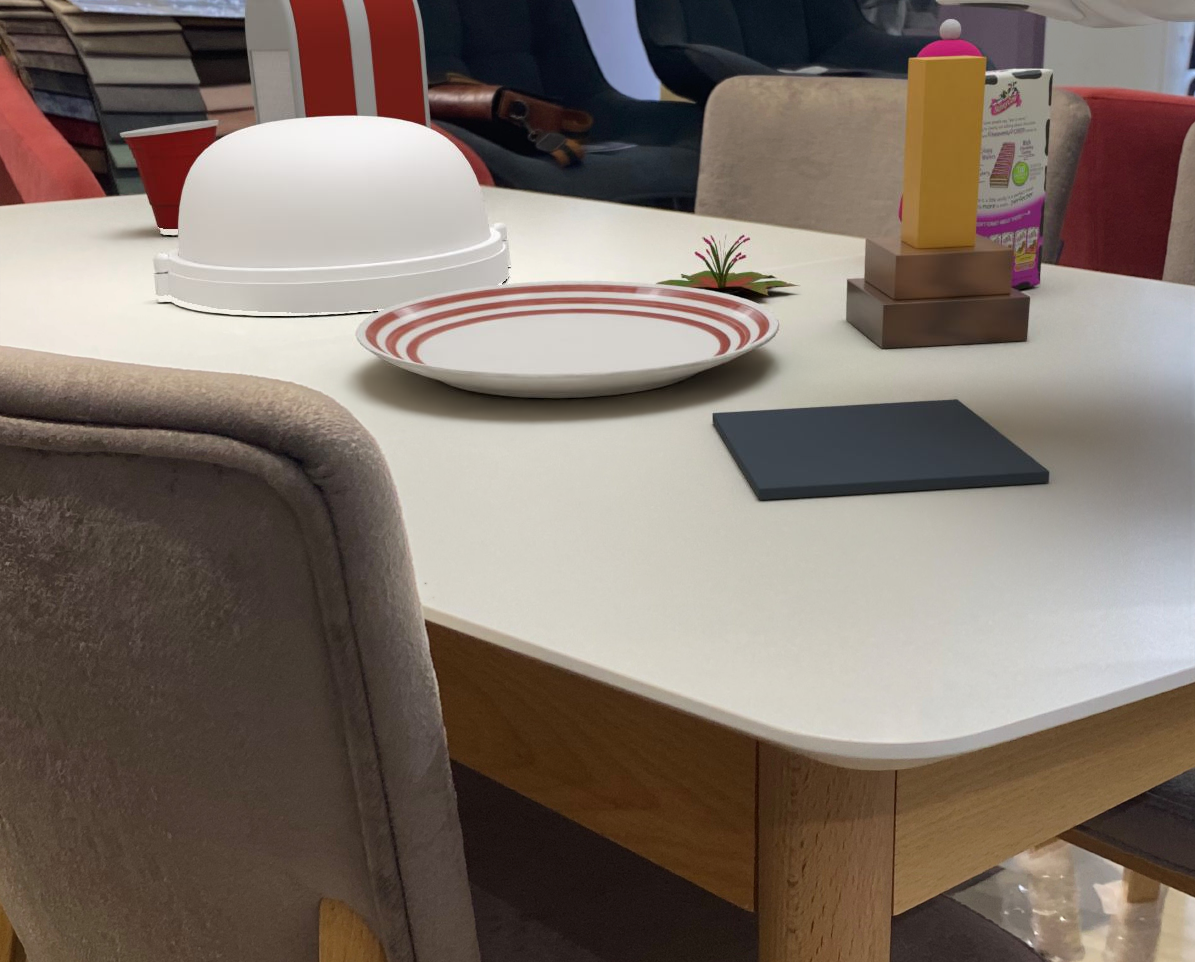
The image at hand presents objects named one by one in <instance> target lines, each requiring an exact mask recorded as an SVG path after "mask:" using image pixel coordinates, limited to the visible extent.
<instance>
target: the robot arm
mask: <svg viewBox="0 0 1195 962" xmlns="http://www.w3.org/2000/svg"><path fill="white" fill-rule="evenodd" d="M935 2H936V3H937V4H939V5H942V6H959V7H960V8H986V9H987V8H988V9H989V8H990V9H1000V10H1001V9H1002V10H1007V11H1008V10H1009V11H1025V12H1029V13H1032V14H1036V15H1039V16H1041V17H1046V18H1049V19H1053V20H1057V21H1060V22H1061V21H1062V22H1071V23H1073V24H1075V25H1079V26H1081V27H1086V28H1092V29H1115V28H1117V29H1118V28H1128V27H1140V26H1141V27H1143V26H1151V25H1158V24H1159V25H1160V24H1163V23H1166V22H1173V23H1193V22H1194V23H1195V0H935Z"/></svg>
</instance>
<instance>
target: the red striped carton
mask: <svg viewBox="0 0 1195 962" xmlns="http://www.w3.org/2000/svg"><path fill="white" fill-rule="evenodd" d="M244 29H245V30H244V31H245V42H246V51H247V52H246V53H247V58H248V59H247V60H248V66H249V68H248V69H249V77H250V84H251V93H252V101H253V108H254V109H253V110H254V118H255V125H259V124H263V123H268V122H274V121H280V120H287V119H297V118H309V117H324V116H373V117H385V118H393V119H400V120H404V121H409V122H413V123H416V124H419V125H423V126H425V127H427V128H430V129H432V126H431V125H432V124H431V113H430V99H429V85H428V75H427V72H428V71H427V60H426V47H425V35H424V27H423V19H422V15H421V10H420V6H419V3H418V0H245V7H244Z"/></svg>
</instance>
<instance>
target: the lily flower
mask: <svg viewBox="0 0 1195 962" xmlns="http://www.w3.org/2000/svg"><path fill="white" fill-rule="evenodd" d="M709 237H710V239H711V240H709V239H707V238H706V237H705V236H702V237H701V239H702V240H703V242H704V243H706V244H708V245H709V248H710V251H709V250H708V248H705V252H706V253H707V255H708V256H709V257H710V259H711V261H712V265H713V266H712V265H711V264H710V262H709V260H707V259H706V257H705V256H704V255H703V254H701V253H700V252H698V251H695V252H694V255H695V256H696V257H698V258H699V259H700V260H702V261H703V262H704V263H705V265H706V267H707V268H708V269H709V270H703V271H700V272H696V273H692V274H690V275H688V274H683V273H681V274H680V279H668V280H662V281H657V282H656V283H655V284H662V285H672V286H681V287H690V288H697V289H704V290H710V291H715V292H720V293H725V294H734V293H739V292H743V291H744V292H745V291H753V292H756V293H758V294H763V295H766V296H768V297H769V296H770V295H769V294H768V289H775V288H787V287H800V285H798V284H794V283H790V282H789V283H788V282H787V281H783V280H769V279H777V277H776V276H774V275H772V274H768V275H767V274H762V273H760V272H756V271H745V272H744V271H743V272H738V273H737V272H730V271H731V269H732V268H733V266H734V265H735V263H737V261H740V260H741V261H742V260H744V259H745V258H747V254H742V251H740V252H738V253H737V254H736V255H735V256H734V257H733V258H732V259H731V260H730V261H729V259H730V257H731V256H732V255H733V253H735V251H736V250H737V249H738V248H739V247H740V246H741V245H742V244H743V243H746V242H748V241H750V240H751V237H747V238H745V234H742V235H740V236H739V237H738V239H737V240H735V242H734V243H733V245H732V246H731V247H730V249H729V250H728V251H727V252H726V251H725V250H723V251H722V246H721V245H719V247H720V248H719V249H720V251H722V252H723V255H722V256H723V258H720V256H719V252H718V251H719V249H718V246H717V243H716V241H715V238H714V237H713V235H710V236H709ZM724 237H725V238H724V240H727V235H725V236H724ZM743 238H744V239H743ZM742 239H743V240H742ZM741 240H742V241H741ZM740 241H741V242H740ZM712 242H713V243H714V245H713V243H712ZM718 242H719V243H718V244H721V241H720V239H719V240H718ZM725 244H726V242H724V244H723V247H725V246H726V245H725ZM711 254H712V255H711ZM737 258H738V259H737ZM728 261H729V263H728ZM713 267H714V269H713ZM683 279H685V280H683ZM766 279H768V280H766ZM760 280H764V281H760Z"/></svg>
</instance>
